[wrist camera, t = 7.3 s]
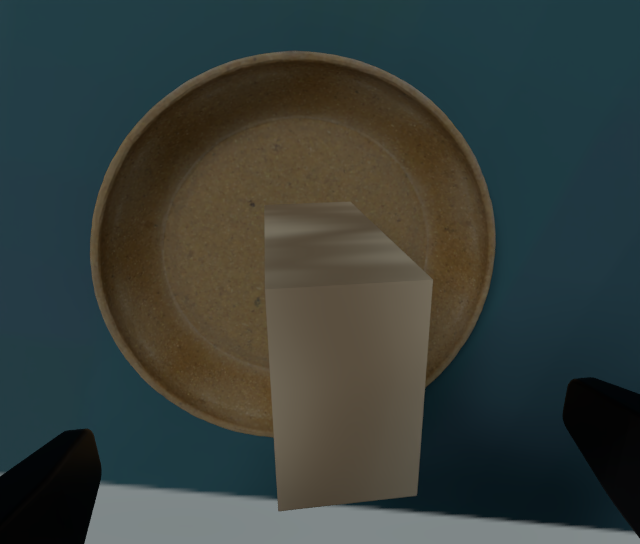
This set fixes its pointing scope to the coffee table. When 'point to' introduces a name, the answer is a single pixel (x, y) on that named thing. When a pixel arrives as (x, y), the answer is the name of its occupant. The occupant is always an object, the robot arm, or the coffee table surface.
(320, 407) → the taupe streaky block
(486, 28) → the coffee table surface
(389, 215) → the plant saucer
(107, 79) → the coffee table surface
